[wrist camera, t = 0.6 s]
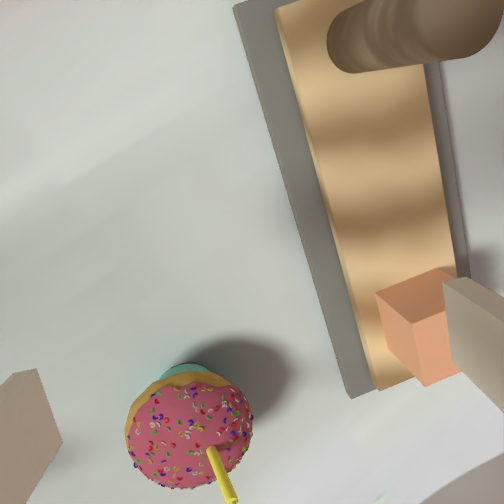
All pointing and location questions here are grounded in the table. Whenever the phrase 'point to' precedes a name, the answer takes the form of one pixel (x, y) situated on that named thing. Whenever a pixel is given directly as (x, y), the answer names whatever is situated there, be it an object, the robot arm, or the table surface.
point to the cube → (418, 325)
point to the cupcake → (189, 429)
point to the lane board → (308, 188)
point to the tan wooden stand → (379, 137)
